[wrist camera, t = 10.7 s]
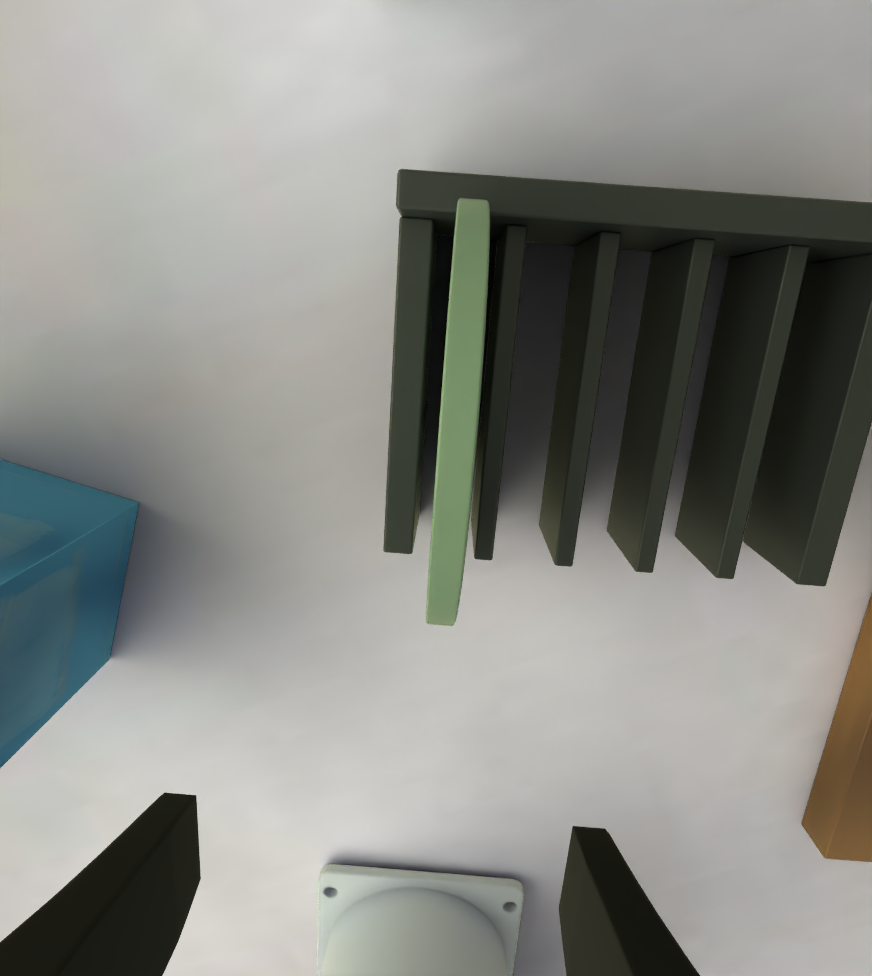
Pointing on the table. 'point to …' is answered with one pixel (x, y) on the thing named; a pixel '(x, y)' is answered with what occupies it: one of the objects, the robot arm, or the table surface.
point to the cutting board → (847, 766)
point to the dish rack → (639, 369)
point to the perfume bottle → (55, 593)
